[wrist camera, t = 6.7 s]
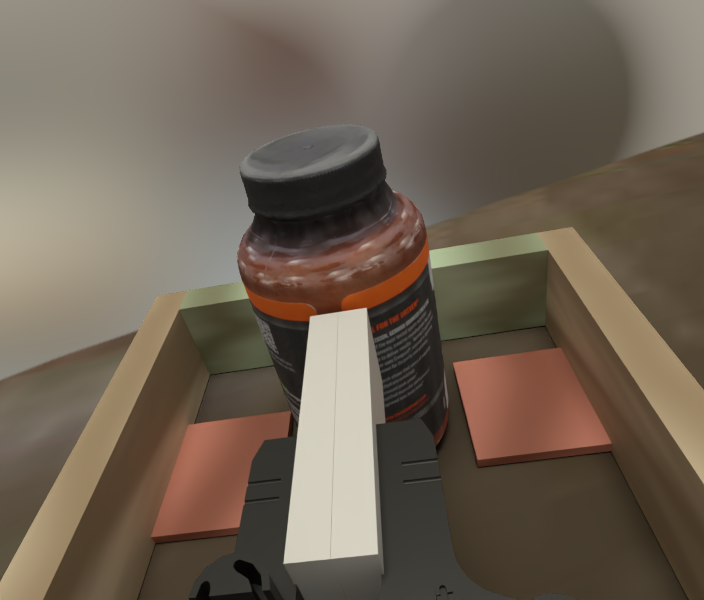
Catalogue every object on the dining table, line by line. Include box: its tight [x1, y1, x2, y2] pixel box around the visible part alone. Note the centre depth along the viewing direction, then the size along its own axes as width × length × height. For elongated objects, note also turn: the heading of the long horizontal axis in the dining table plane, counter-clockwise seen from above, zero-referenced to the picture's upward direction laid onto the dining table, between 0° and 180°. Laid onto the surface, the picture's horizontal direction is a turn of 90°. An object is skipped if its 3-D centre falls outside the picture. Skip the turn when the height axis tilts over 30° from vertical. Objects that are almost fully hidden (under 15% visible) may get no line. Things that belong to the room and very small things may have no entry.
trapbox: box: [0, 227, 704, 600], centre depth 17 cm, size 19×16×4 cm
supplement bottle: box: [237, 124, 449, 447], centre depth 17 cm, size 6×6×11 cm
